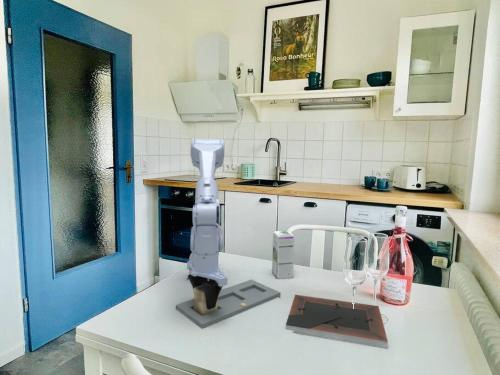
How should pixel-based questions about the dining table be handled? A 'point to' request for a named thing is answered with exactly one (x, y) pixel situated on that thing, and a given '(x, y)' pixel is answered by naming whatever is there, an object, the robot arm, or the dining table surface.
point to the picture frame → (337, 321)
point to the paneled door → (230, 302)
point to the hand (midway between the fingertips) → (205, 304)
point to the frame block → (201, 302)
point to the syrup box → (283, 254)
